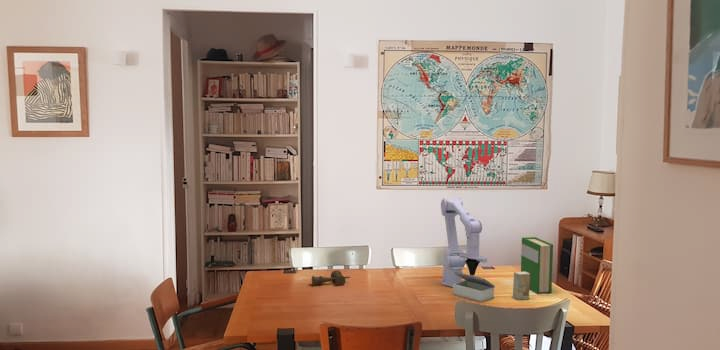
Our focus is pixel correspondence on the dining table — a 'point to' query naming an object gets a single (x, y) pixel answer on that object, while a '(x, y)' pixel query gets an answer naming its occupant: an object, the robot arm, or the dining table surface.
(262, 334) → the dining table surface
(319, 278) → the kendama
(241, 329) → the dining table surface
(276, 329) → the dining table surface
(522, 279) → the skincare box
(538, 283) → the hardback book
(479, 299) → the box
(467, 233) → the robot arm
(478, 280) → the lid
